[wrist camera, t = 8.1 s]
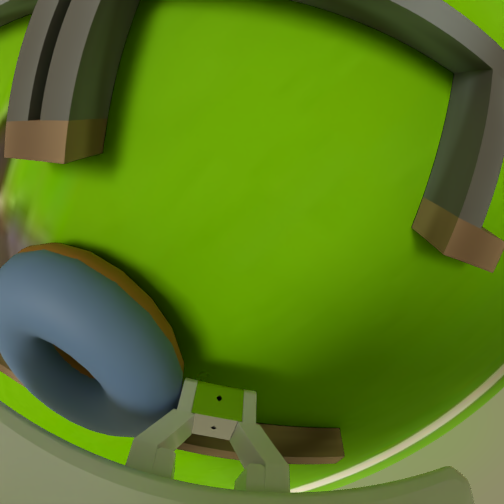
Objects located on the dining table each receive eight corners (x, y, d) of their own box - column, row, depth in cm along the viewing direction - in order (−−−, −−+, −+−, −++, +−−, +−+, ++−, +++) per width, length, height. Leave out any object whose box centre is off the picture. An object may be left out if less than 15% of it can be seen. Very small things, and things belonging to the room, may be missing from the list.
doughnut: (244, 344, 11) (220, 443, 7) (139, 409, 15) (112, 464, 10) (64, 176, 9) (-26, 211, 5) (24, 304, 13) (-21, 345, 9)
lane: (504, 88, 6) (551, 91, 3) (331, 436, 15) (336, 470, 12) (-57, 47, 4) (-83, 49, 1) (-43, 310, 13) (-60, 327, 10)
